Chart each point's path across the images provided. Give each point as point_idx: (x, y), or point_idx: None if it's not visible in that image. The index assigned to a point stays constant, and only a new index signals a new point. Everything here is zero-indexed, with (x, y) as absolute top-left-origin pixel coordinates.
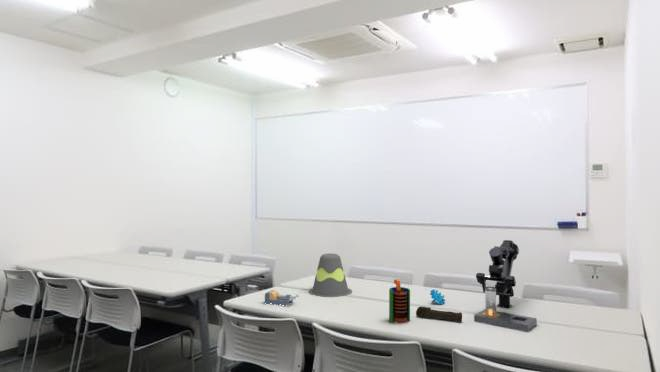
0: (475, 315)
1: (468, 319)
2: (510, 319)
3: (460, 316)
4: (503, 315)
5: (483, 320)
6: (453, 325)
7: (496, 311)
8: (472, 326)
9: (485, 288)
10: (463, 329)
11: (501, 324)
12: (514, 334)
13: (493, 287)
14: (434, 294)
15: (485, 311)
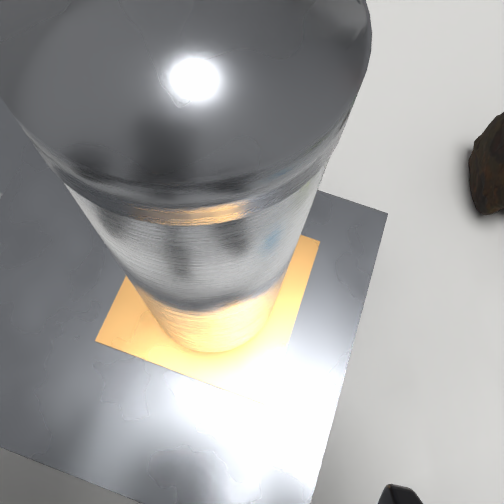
0: (373, 209)
1: (428, 281)
2: (14, 177)
3: (498, 116)
4: (66, 307)
5: None
6: (498, 83)
7: (135, 482)
8: (359, 100)
9: (349, 1)
10: (408, 23)
11: None
12: None
13: (73, 83)
14: None
15: (280, 422)
